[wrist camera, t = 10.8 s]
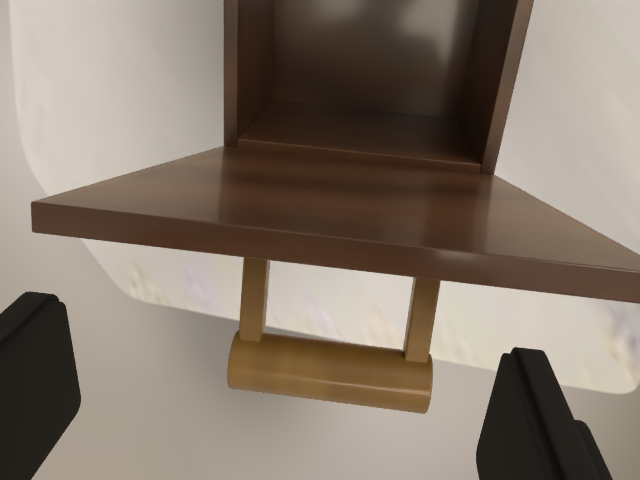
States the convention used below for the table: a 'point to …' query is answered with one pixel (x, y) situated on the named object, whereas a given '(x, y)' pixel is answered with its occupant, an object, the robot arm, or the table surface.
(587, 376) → the table surface
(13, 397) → the robot arm
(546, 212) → the chest lid
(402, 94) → the chest
